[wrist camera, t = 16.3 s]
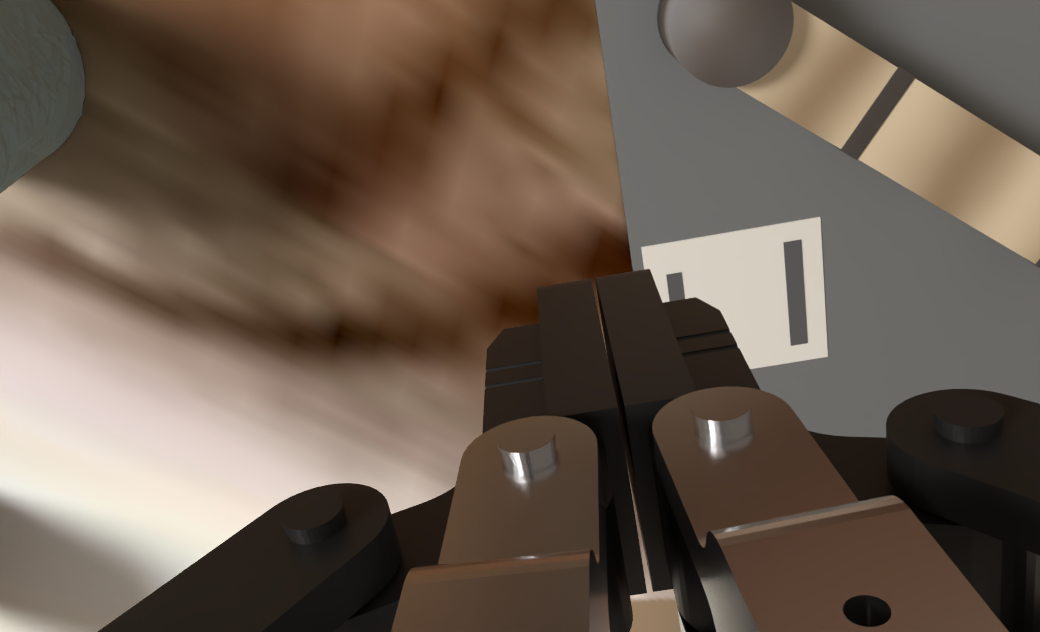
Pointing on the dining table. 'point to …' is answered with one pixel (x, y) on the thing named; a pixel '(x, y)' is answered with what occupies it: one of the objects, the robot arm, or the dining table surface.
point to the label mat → (832, 215)
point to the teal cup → (36, 85)
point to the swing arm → (862, 109)
